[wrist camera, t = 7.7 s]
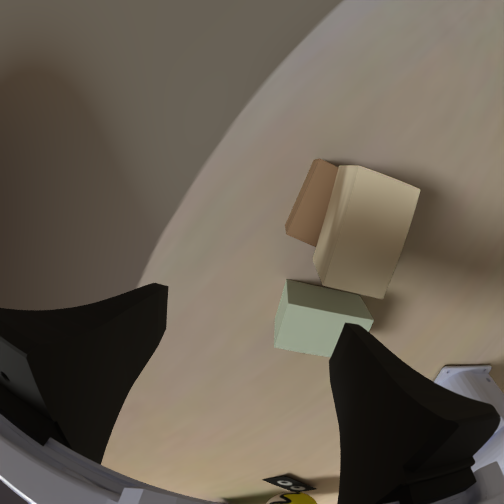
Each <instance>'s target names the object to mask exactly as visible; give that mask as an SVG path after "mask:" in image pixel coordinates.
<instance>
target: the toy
mask: <svg viewBox="0 0 504 504" xmlns="http://www.w3.org/2000/svg"><path fill="white" fill-rule="evenodd" d="M263 480H264V481H266V482H269V483H271V484H274V485H276V486H279V487H281V488H284V489H287V490H290V492H284V493H280V494H278V495H276V496H274V497H272V498H271V499H270V500H269V501H268V502H267V503H266V504H317V503H316V501H315V500H314V499H313V498H312V497H310V496H309V495H307V494H305V493H302V491H309V490H314V489H316V488H313V487H311V486H308V485H305V484H303V483H300V482H298V481H295V480H293V479H291V478H288V477H286V476H284V477H278V478H271V479H263Z"/></svg>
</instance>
